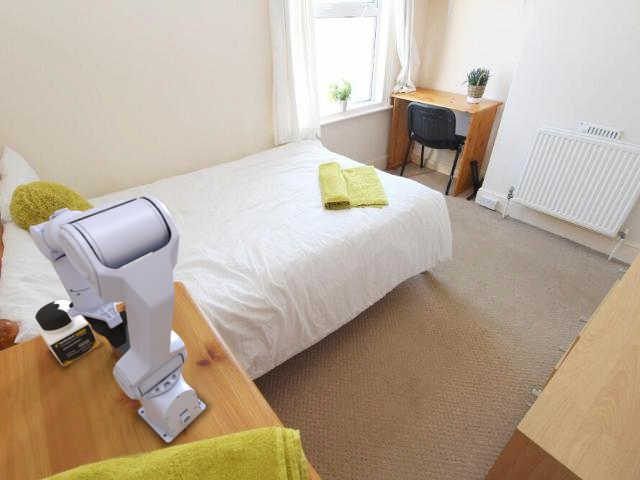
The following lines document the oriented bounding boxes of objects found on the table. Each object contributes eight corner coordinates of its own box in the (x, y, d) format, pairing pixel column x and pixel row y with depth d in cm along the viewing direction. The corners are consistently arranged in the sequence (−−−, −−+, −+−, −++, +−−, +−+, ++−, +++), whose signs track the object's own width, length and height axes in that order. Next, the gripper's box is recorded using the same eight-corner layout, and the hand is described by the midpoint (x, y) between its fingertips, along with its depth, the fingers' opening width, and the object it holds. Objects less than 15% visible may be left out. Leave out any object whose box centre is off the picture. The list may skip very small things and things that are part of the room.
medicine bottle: (64, 367, 69) (37, 326, 63) (50, 350, 73) (24, 310, 66) (100, 345, 74) (79, 305, 67) (86, 330, 78) (64, 291, 71)
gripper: (40, 277, 59) (71, 331, 66) (77, 312, 52) (108, 368, 59) (83, 258, 64) (108, 310, 71) (123, 287, 56) (145, 342, 64)
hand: (110, 335), depth 65 cm, fingers open, 7 cm apart
